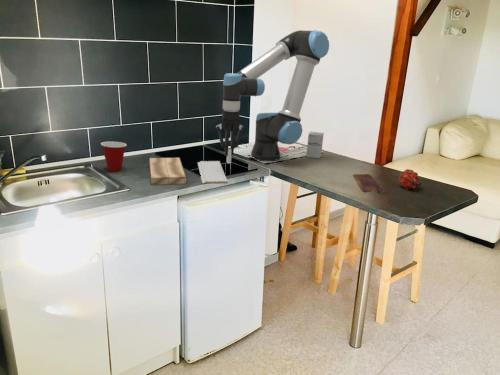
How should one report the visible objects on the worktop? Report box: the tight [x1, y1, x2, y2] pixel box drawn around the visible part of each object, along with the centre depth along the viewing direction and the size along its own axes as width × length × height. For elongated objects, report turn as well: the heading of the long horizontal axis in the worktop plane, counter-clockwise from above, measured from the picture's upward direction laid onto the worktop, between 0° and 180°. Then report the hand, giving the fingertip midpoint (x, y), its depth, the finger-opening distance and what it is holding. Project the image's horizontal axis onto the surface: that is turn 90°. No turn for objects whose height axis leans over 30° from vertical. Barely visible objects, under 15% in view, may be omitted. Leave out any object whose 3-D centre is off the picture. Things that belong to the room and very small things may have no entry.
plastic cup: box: [100, 141, 127, 172], centre depth 188 cm, size 11×11×12 cm
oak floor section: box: [149, 157, 187, 186], centre depth 187 cm, size 14×30×3 cm, turn 14°
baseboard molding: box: [194, 158, 228, 185], centre depth 192 cm, size 31×3×12 cm
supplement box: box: [306, 131, 325, 159], centre depth 227 cm, size 7×7×13 cm
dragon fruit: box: [398, 168, 422, 190], centre depth 184 cm, size 8×8×12 cm
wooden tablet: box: [353, 173, 387, 194], centre depth 188 cm, size 26×2×10 cm
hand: (228, 162), depth 193 cm, fingers closed
